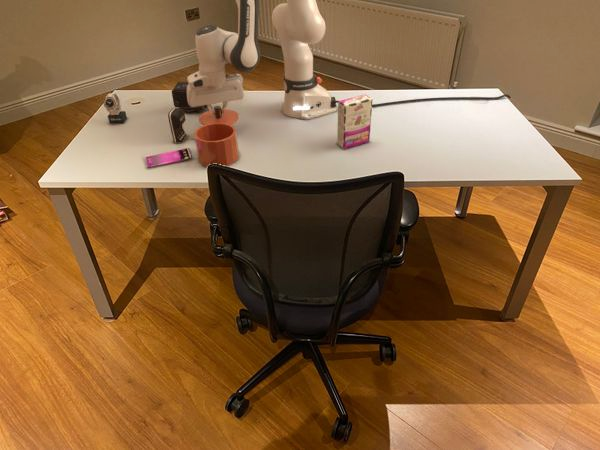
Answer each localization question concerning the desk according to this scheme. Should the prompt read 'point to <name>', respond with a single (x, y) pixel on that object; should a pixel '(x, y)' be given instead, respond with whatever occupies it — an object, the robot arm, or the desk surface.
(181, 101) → the camera
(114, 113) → the watch
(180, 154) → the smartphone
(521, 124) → the desk surface
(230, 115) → the lid
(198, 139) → the pot
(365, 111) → the candy bar box
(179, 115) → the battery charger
